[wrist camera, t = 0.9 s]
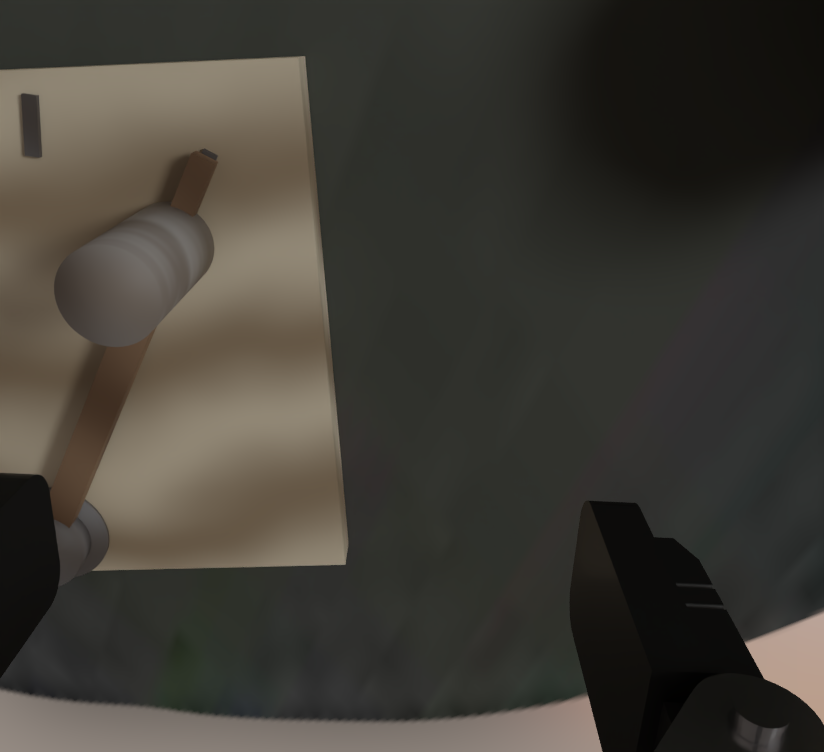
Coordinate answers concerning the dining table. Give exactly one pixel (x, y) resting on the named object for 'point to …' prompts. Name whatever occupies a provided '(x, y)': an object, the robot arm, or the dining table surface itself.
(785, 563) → the dining table surface
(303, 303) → the board
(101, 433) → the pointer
